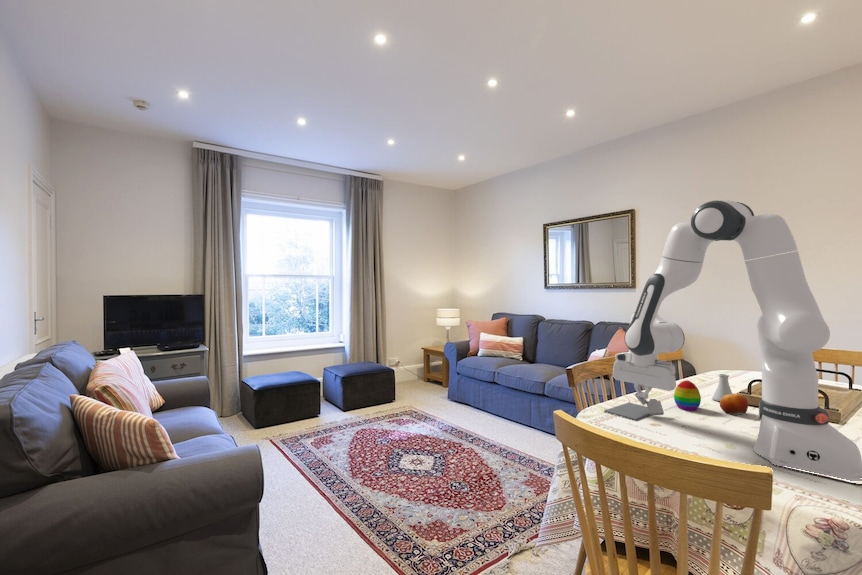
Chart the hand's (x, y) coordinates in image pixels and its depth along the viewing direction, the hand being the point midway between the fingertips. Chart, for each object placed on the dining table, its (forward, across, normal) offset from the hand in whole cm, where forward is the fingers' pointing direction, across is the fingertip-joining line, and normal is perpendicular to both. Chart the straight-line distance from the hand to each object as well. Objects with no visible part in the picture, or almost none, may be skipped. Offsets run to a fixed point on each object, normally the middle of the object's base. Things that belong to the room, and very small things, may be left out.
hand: (642, 397), depth 141 cm
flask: (+6, -10, -41) cm, 43 cm away
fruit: (+6, -18, -27) cm, 33 cm away
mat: (+6, +4, 0) cm, 7 cm away
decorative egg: (+6, -6, -20) cm, 22 cm away
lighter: (+5, -3, 0) cm, 6 cm away
